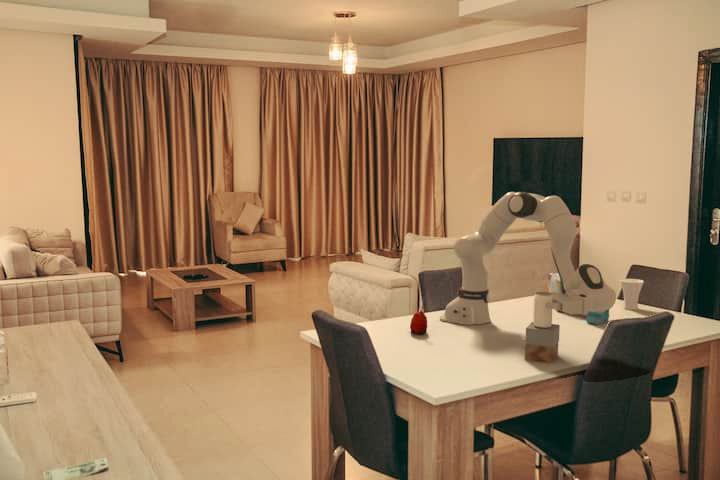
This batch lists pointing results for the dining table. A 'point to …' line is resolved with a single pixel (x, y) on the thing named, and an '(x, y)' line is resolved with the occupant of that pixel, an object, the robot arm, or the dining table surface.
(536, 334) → the tower top
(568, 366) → the dining table surface
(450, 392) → the dining table surface
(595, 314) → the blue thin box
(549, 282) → the snack box
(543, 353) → the tower base
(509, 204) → the robot arm
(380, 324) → the dining table surface
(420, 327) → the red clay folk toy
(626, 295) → the cup
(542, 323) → the can
